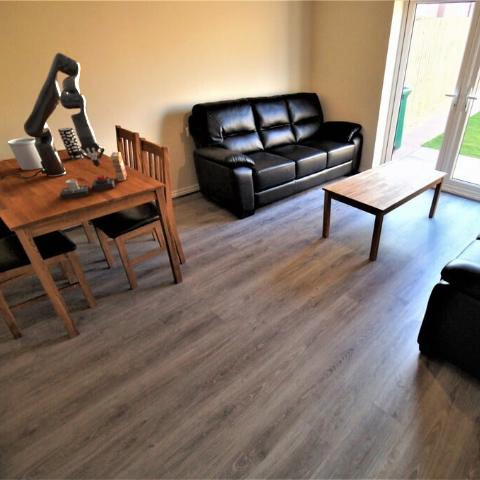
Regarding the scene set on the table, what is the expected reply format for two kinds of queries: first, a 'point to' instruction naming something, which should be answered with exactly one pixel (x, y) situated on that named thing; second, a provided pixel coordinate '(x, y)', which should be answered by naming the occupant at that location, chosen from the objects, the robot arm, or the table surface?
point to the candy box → (118, 166)
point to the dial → (72, 185)
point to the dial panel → (75, 192)
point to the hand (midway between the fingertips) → (97, 165)
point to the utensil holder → (25, 153)
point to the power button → (101, 177)
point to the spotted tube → (70, 142)
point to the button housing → (103, 184)
